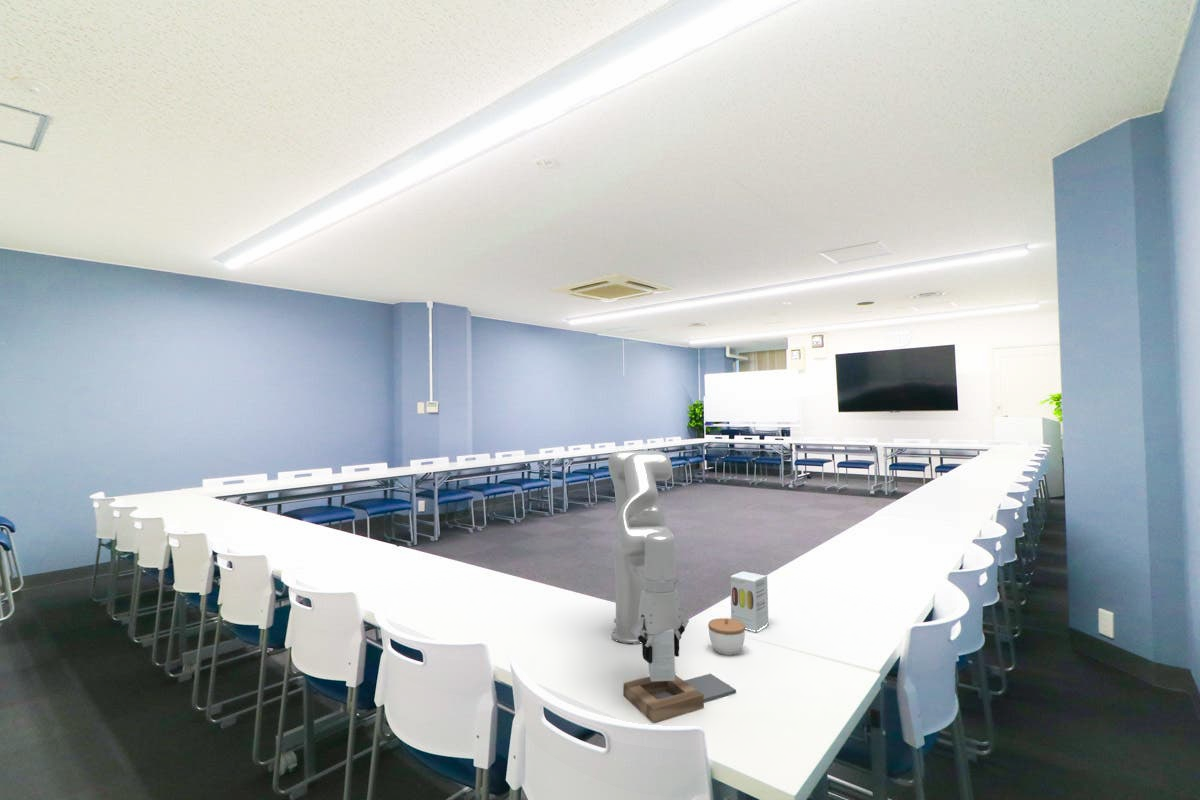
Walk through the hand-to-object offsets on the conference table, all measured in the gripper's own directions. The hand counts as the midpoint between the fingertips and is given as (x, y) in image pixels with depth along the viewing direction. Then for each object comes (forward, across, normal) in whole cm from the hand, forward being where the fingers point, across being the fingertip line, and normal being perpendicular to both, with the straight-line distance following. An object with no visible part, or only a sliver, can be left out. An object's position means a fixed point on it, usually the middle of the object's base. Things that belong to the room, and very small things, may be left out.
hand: (661, 657), depth 126 cm
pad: (+10, -13, +1) cm, 17 cm away
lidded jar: (+11, -33, -15) cm, 38 cm away
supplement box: (+11, -53, -27) cm, 61 cm away
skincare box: (+5, 0, 0) cm, 5 cm away
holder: (+10, 0, +1) cm, 10 cm away
